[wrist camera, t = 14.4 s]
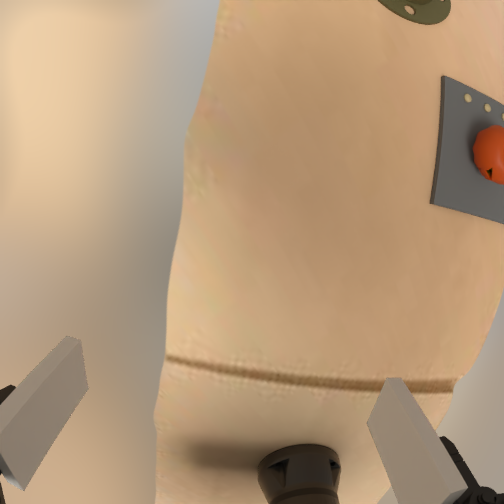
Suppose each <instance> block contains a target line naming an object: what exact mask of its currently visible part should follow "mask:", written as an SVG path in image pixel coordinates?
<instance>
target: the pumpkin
mask: <svg viewBox="0 0 504 504" xmlns="http://www.w3.org/2000/svg"><path fill="white" fill-rule="evenodd" d="M473 153H474V163H475V164H476V166H477V167H478V169H479V171H480V173H481V175H482V176H484V177H485V179H488V180H490V181H493V182H495V183H497V184H500V185H501V184H502V185H504V128H503V127H502V126H499V125H492V126H490V127H488V128H487V129H484V130H482V131H480V132H479V133H478V134H477V137H476V141H475V143H474V146H473Z"/></svg>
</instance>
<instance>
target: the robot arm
mask: <svg viewBox="0 0 504 504" xmlns="http://www.w3.org/2000/svg"><path fill="white" fill-rule="evenodd" d="M87 390H88V383H87V377H86V371H85V365H84V358H83V351H82V344H81V340H80V339H76V338H73V337H69V336H66V337H65V338H64V339H63V340H62V341H61V342H60V343H59V344H58V345H57V346H56V347H55V348H54V349H53V350H52V351H51V352H50V353H49V354H48V355H47V356H46V357H45V358H44V359H43V360H42V361H41V362H40V363H39V364H38V365H37V366H36V367H35V368H34V369H33V370H32V371H31V373H29V375H28V376H27V377H26V378H25V379H24V380H23V381H22V382H21V383H20V384H19V385H18V386H17V387H15V386H12V385H9V386H7V387H5V388H3V389H1V390H0V475H1V473H2V474H3V476H4V477H5V478H6V480H7V482H9V483H10V484H12V485H14V486H16V487H18V488H19V489H21V490H23V491H24V490H25V488H26V487H27V485H28V484H29V482H30V480H31V478H32V477H33V475H34V473H35V472H36V470H37V468H38V467H39V465H40V463H41V462H42V460H43V458H44V457H45V455H46V454H47V452H48V450H49V449H50V447H51V446H52V444H53V442H54V441H55V439H56V438H57V436H58V435H59V433H60V431H61V430H62V428H63V427H64V425H65V424H66V422H67V421H68V419H69V418H70V416H71V414H72V413H73V411H74V410H75V408H76V407H77V405H78V404H79V402H80V401H81V399H82V398H83V396H84V395H85V393H86V392H87ZM367 425H368V427H369V430H370V432H371V435H372V437H373V439H374V442H375V444H376V447H377V449H378V452H379V454H380V457H381V459H382V462H383V464H384V467H385V469H386V472H387V475H388V477H389V480H390V482H391V485H392V487H393V490H394V493H395V495H396V498H397V501H398V503H399V504H504V493H502V494H497V493H496V492H495V491H494V490H492V489H491V488H489V487H483V486H482V487H480V486H479V485H478V483H477V481H476V479H475V478H474V476H473V475H472V473H471V471H470V470H469V468H468V466H467V465H466V463H465V461H463V458H462V457H461V455H460V454H459V452H458V450H457V449H456V447H455V445H454V444H453V443H452V442H451V441H450V440H448V439H447V438H446V437H445V436H443V437H438V436H437V434H436V432H435V430H434V429H433V427H432V425H431V424H430V422H429V421H428V419H427V417H426V416H425V414H424V413H423V411H422V410H421V408H420V406H419V405H418V403H417V402H416V400H415V399H414V397H413V395H412V394H411V392H410V391H409V389H408V388H407V386H406V385H405V383H404V382H403V380H402V378H386V380H385V383H384V385H383V388H382V390H381V392H380V395H379V397H378V399H377V402H376V404H375V406H374V408H373V410H372V413H371V415H370V417H369V419H368V421H367ZM340 473H341V465H340V461H339V458H338V456H337V454H336V453H335V452H334V451H333V450H331V449H329V448H327V447H324V446H319V445H296V446H291V447H287V448H283V449H280V450H278V451H276V452H273V453H272V454H270V455H268V456H267V457H266V458H264V459H263V460H262V461H261V463H260V464H259V466H258V482H259V485H260V487H261V489H262V491H263V493H264V495H265V497H266V499H267V501H268V504H339V500H338V495H337V491H338V485H339V479H340ZM0 504H5V499H4V495H3V491H2V487H1V483H0Z"/></svg>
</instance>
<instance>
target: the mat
mask: <svg viewBox="0 0 504 504" xmlns="http://www.w3.org/2000/svg"><path fill="white" fill-rule="evenodd" d="M492 125H499V126H502V127H503V128H504V105H502V104H501V103H499V102H497V101H495V100H493V99H492V98H490V97H488V96H486V95H484V94H482V93H480V92H478V91H476V90H475V89H473V88H471V87H469V86H466V85H464V84H462V83H460V82H458V81H456V80H454V79H452V78H449V77H447V76H443V77H441V107H440V124H439V136H438V147H437V156H436V165H435V173H434V180H433V187H432V193H431V199H430V204H434V205H438V206H442V207H446V208H449V209H453V210H457V211H461V212H464V213H468V214H471V215H475V216H478V217H482V218H485V219H488V220H492V221H495V222H498V223H502V224H504V185H502V184H501V185H500V184H497V183H495V182H493V181H490V180H488V179H485V177H484V176H482V175H481V173H480V171H479V169H478V167H477V166H476V164H475V163H474V153H473V146H474V143H475V141H476V137H477V134H478V133H479V132H480V131H482V130H484V129H487V128H488V127H490V126H492Z"/></svg>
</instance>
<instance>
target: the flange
mask: <svg viewBox="0 0 504 504" xmlns="http://www.w3.org/2000/svg"><path fill="white" fill-rule="evenodd" d="M378 1H379V2H380V3H381V4H382V5H384V6H385V7H386V8H388V9H389V10H390V11H392V12H393V13H395V14H397V15H399V16H400V17H402V18H404V19H407V20H409V21H412V22H415V23H419V24H425V25H432V24H437V23H439V22H441V21H443V20H444V19H445V18H446V17H447V16H448V15H449V13H450V9H451V2H450V0H444V2H443V1H440V0H378ZM404 6H410V7H411V8H412V9H413V10H414V12H415V14H414V15H411V14H409V13H408V12H407V11H406V10H405V7H404Z"/></svg>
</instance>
